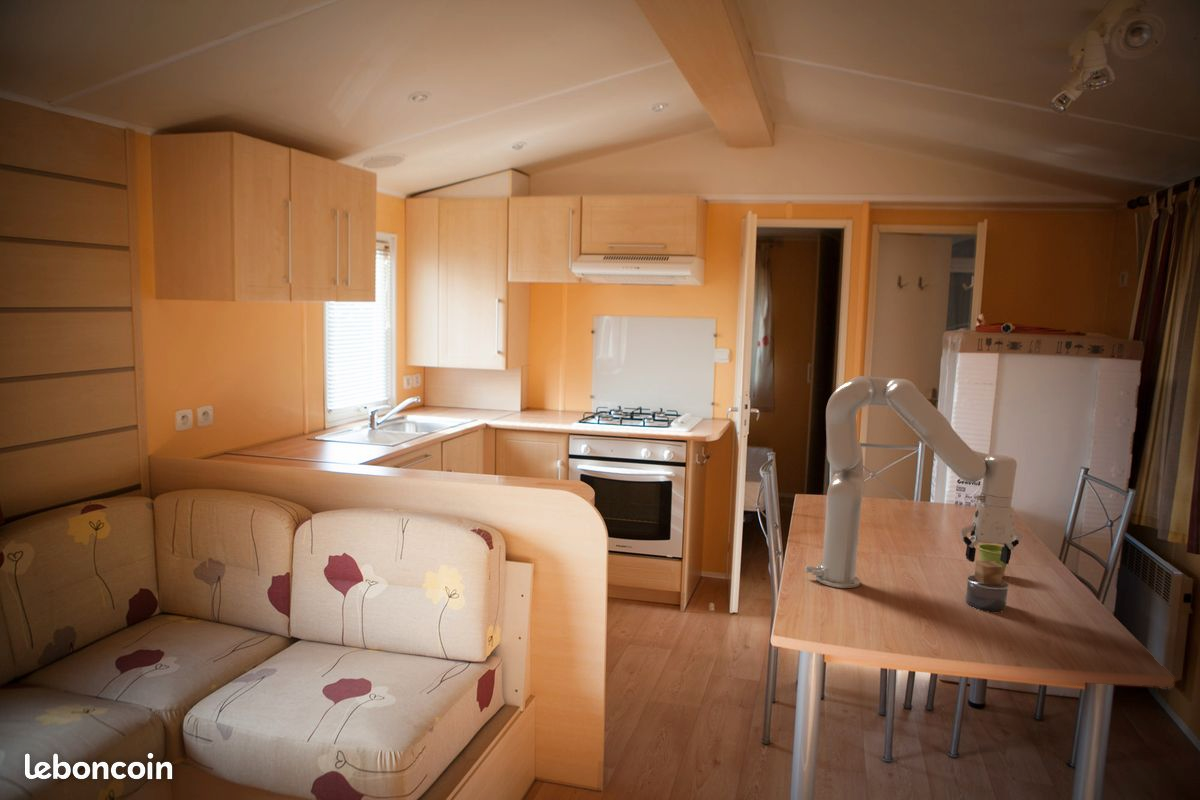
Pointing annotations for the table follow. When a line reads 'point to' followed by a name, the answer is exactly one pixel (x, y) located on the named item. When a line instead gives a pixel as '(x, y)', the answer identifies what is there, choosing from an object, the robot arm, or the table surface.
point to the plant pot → (992, 554)
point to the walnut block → (988, 572)
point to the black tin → (986, 595)
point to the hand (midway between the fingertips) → (987, 561)
